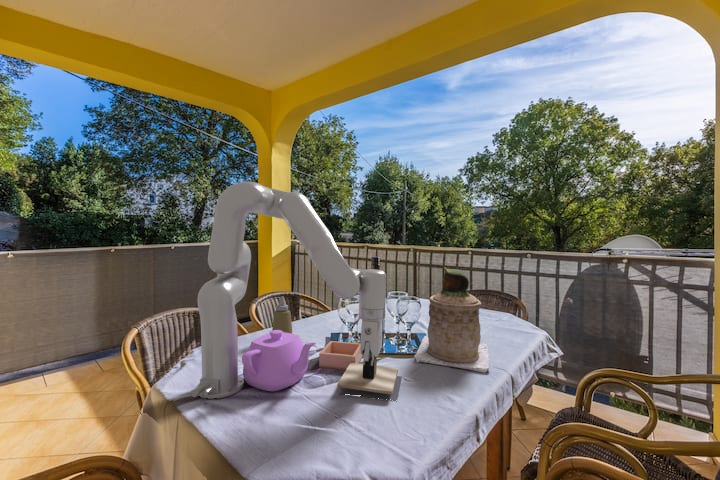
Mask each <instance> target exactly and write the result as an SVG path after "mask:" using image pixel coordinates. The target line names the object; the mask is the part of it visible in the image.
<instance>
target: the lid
mask: <svg viewBox="0 0 720 480" xmlns="http://www.w3.org/2000/svg"><path fill="white" fill-rule="evenodd" d="M377 357H378V356H377ZM377 357H374V362H373V365H374V379H366V378H363V363H361V362H360V363H352V362H351V363H350V364H349V366H348V368H347V369H346V370H344V373H343V374H342V375H341V377H340V379H339V380H338V382H337V383H336V386H337V388H341V389H342V388H349V389H356V390H363V391H370V392H377V393H384V394H391V395H392V393H393V389H394V385H395V381H396V377H397V376H398V372H399V368H397V367H391V366H384V365H383V366H382V365H377V367H376V360H377ZM369 358H371V357H369Z"/></svg>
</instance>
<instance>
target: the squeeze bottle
mask: <svg viewBox="0 0 720 480" xmlns="http://www.w3.org/2000/svg"><path fill="white" fill-rule="evenodd" d="M275 308H276V309H275V311H274V312H273V317H272V318H273V319H272V321H273V322H272V329H271V331H273V330H281V331H283V332H286V333H291V334H293V323H292V313H291V311H290V310H289V305H288V304H286V302H285V297H284V295H283V296H280V299H279V304H277V305H276V307H275Z"/></svg>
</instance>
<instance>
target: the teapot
mask: <svg viewBox="0 0 720 480" xmlns="http://www.w3.org/2000/svg"><path fill="white" fill-rule="evenodd" d="M316 344H317V343H316V342H306V343H305V344H304V343H303V341H302V339H301V337H300V336H299V335H297V334H295V333H294V334H293V333H292V334H291V333H286V332H283V331H281V330H273V331H272V330H271V331H269V333H266V334H263V335H260V336H258V337H257V338H254V339H253V340H252V341H251V343H250V346H249V347H248V349H247V352H244V353H243V355H241V363H242V366H243V369H242V377H243V380H245V382H246V383H247V384H248V385H249V386H250V387H253V388H256V389H259V390H263V391H265V392H278V391H281V390H284V389H286V388H288V387H291V386H293V385H294V384H297V382H299V381H300V380H301V379H302V378H303V377H304V376H305V374H306V372H307V370H308V367H309V364H308V363H309V354H310V349H311V348H312V347H313V346H315V345H316Z"/></svg>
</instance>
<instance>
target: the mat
mask: <svg viewBox="0 0 720 480" xmlns="http://www.w3.org/2000/svg"><path fill="white" fill-rule="evenodd" d="M402 379H403V376H401V375H397V377H396V381H395V385H394V389H393V393H392V395H391V394H384V393H377V392H370V391H363V390H356V389H349V388H342V387H341V388H340V389H341V390H340V391H339V393H338V395H339V396H344V395H345V394H350V395H361V396H360V397H359V398H361V397H362V399H369V398H375V399H374V400H377V399H378V398H379V399H384V400H383V401H386V399H387V401H388V400H390V399H391V400H390V401H388V402H394V401H396V400H397V401H396V402H395V403H397V402H398V399H399V393H400V389H401V385H402ZM363 397H364V398H363ZM392 400H393V401H392ZM387 401H386V402H387Z"/></svg>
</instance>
